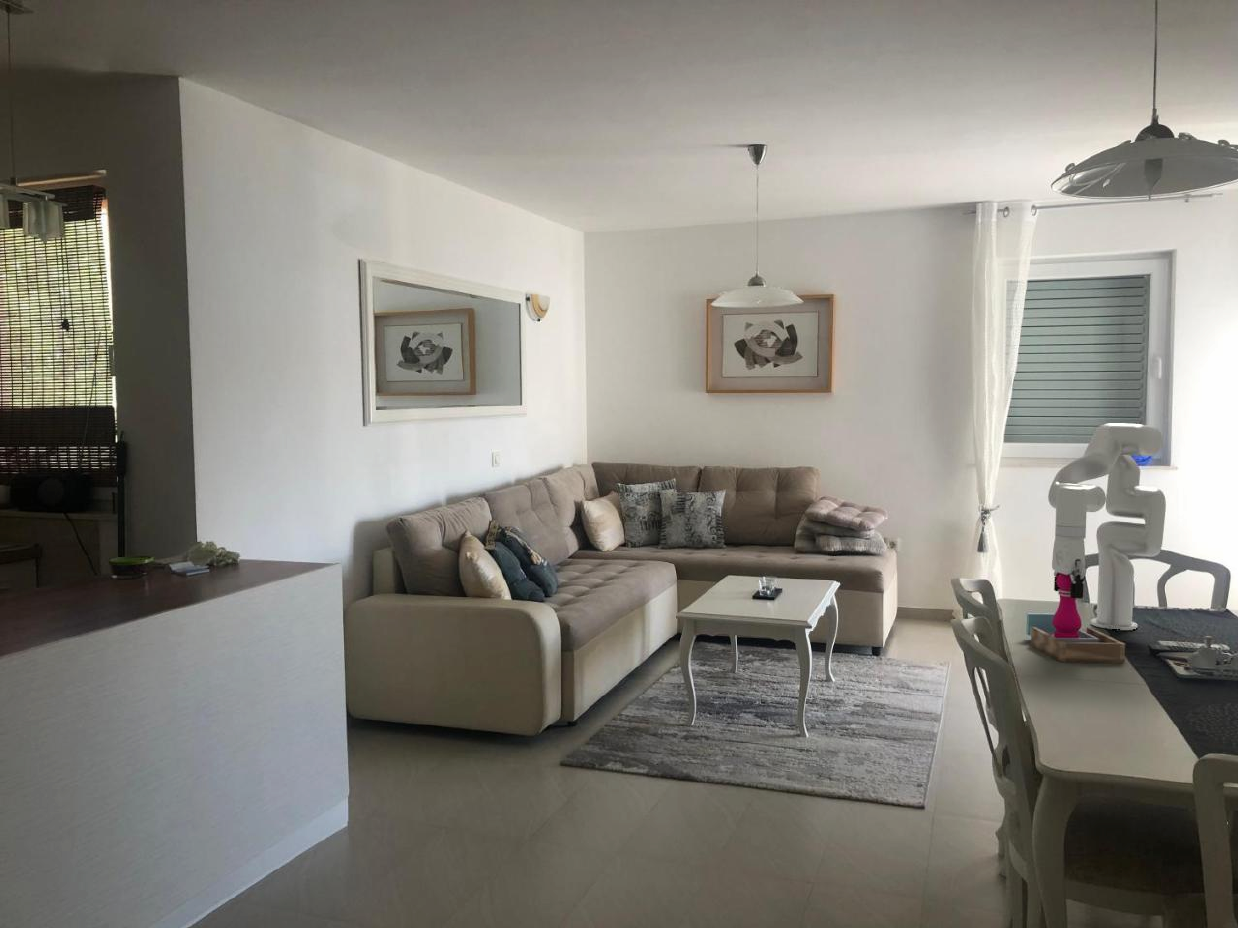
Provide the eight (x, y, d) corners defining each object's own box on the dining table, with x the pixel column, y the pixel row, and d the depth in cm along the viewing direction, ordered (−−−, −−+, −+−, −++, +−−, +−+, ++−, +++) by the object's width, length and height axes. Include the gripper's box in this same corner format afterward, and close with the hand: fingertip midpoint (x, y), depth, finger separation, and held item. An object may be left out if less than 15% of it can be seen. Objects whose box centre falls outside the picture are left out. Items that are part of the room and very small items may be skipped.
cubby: (1031, 644, 272) (1031, 627, 272) (1090, 645, 272) (1091, 627, 272) (1060, 662, 254) (1061, 643, 254) (1124, 662, 254) (1125, 643, 254)
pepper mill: (1075, 636, 272) (1078, 564, 271) (1085, 642, 265) (1087, 569, 264) (1048, 635, 273) (1051, 563, 272) (1057, 641, 266) (1059, 568, 265)
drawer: (1026, 633, 279) (1027, 613, 279) (1073, 634, 279) (1073, 613, 279) (1050, 647, 263) (1051, 625, 263) (1100, 648, 263) (1101, 626, 263)
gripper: (1042, 527, 276) (1040, 588, 277) (1071, 536, 259) (1068, 601, 260) (1069, 527, 276) (1067, 588, 277) (1099, 536, 259) (1097, 601, 260)
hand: (1068, 594), depth 268 cm, fingers open, 9 cm apart
